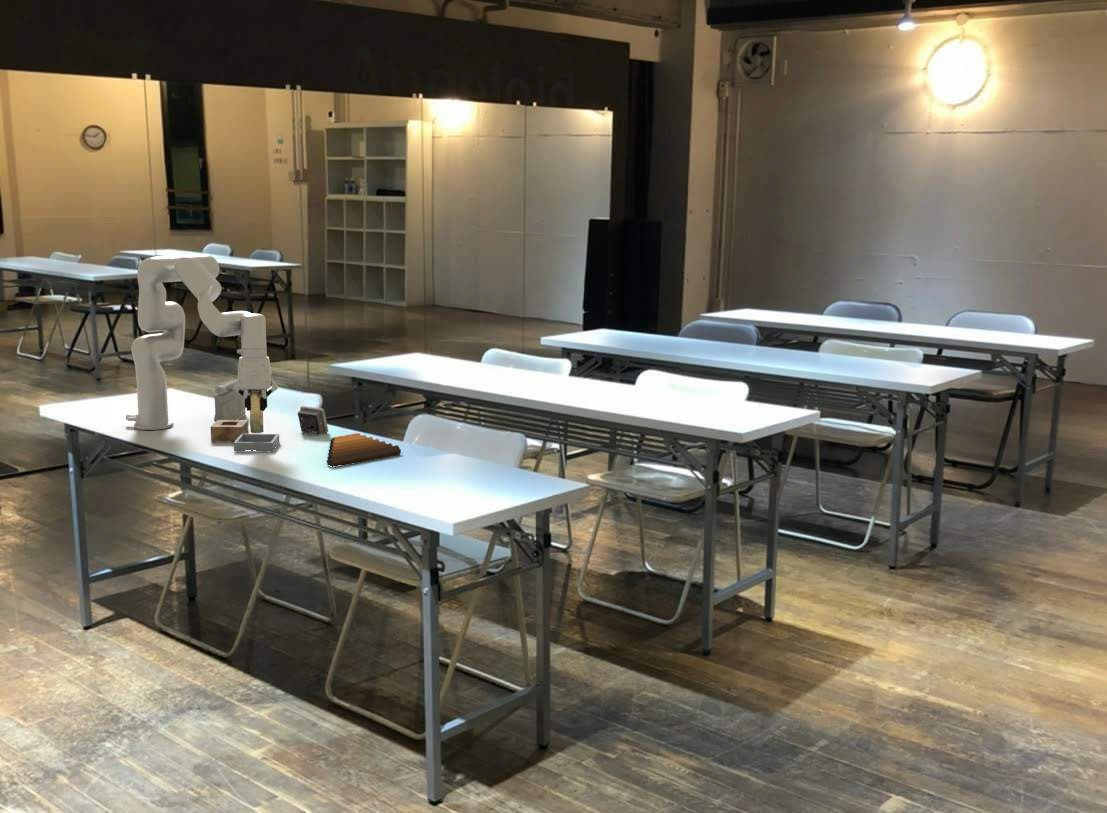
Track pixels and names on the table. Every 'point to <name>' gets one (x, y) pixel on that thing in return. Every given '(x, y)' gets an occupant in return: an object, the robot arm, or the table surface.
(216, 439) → the brown square frame
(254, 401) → the brass pin
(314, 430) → the electrical switch
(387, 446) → the pan flute
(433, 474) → the table surface
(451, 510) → the table surface
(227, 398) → the geiger counter
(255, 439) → the parts tray
